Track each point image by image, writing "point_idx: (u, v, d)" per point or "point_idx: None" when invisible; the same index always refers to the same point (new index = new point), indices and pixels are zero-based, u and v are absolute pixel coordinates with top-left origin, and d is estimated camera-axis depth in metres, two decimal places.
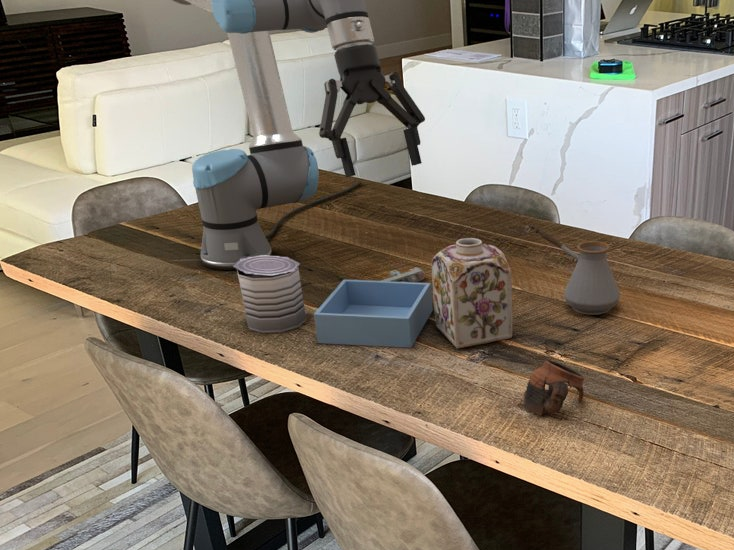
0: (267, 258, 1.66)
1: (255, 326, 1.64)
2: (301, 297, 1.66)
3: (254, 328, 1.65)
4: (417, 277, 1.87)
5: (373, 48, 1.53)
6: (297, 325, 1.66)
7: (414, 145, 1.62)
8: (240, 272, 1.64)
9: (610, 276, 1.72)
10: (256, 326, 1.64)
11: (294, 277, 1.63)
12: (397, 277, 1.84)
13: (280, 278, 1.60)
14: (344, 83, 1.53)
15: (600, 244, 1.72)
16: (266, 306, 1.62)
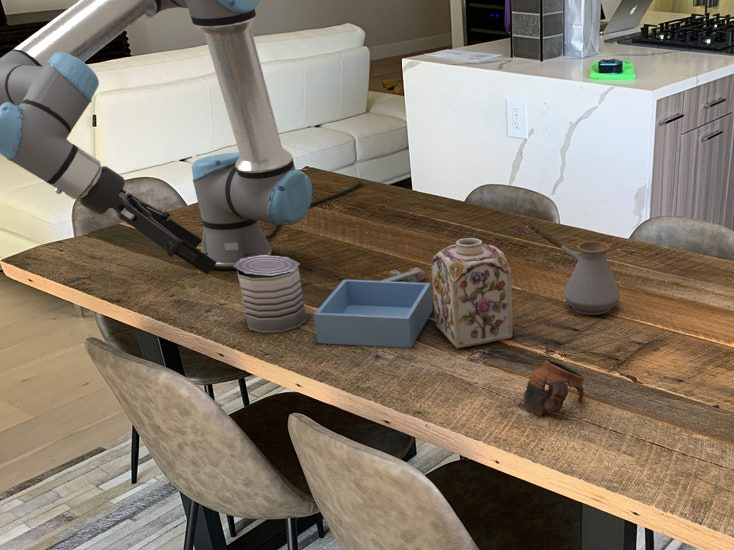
0: (267, 258, 1.66)
1: (255, 326, 1.64)
2: (301, 297, 1.66)
3: (254, 328, 1.65)
4: (417, 277, 1.87)
5: (85, 204, 1.42)
6: (297, 325, 1.66)
7: None
8: (240, 272, 1.64)
9: (610, 276, 1.72)
10: (256, 326, 1.64)
11: (294, 277, 1.63)
12: (397, 277, 1.84)
13: (280, 278, 1.60)
14: None
15: (600, 244, 1.72)
16: (266, 306, 1.62)
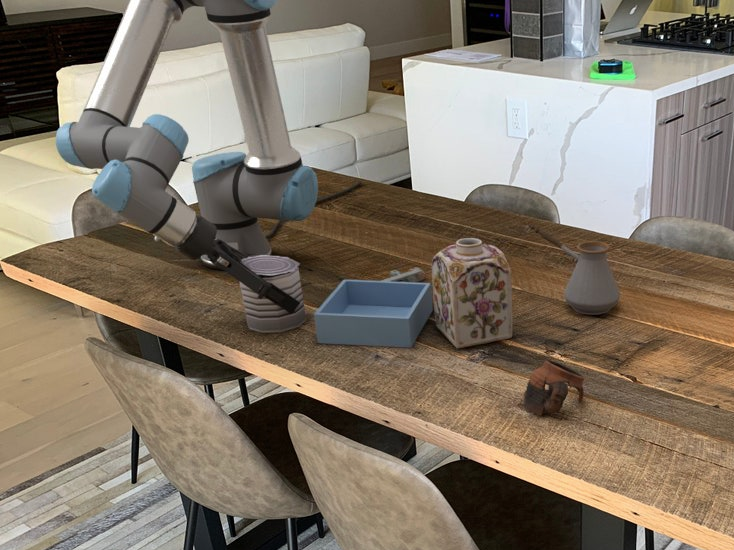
0: (267, 258, 1.66)
1: (255, 326, 1.64)
2: (301, 297, 1.66)
3: (254, 328, 1.65)
4: (417, 277, 1.87)
5: (181, 251, 1.52)
6: (297, 325, 1.66)
7: None
8: None
9: (610, 276, 1.72)
10: (256, 326, 1.64)
11: (294, 277, 1.63)
12: (397, 277, 1.84)
13: (280, 278, 1.60)
14: None
15: (600, 244, 1.72)
16: (266, 306, 1.62)
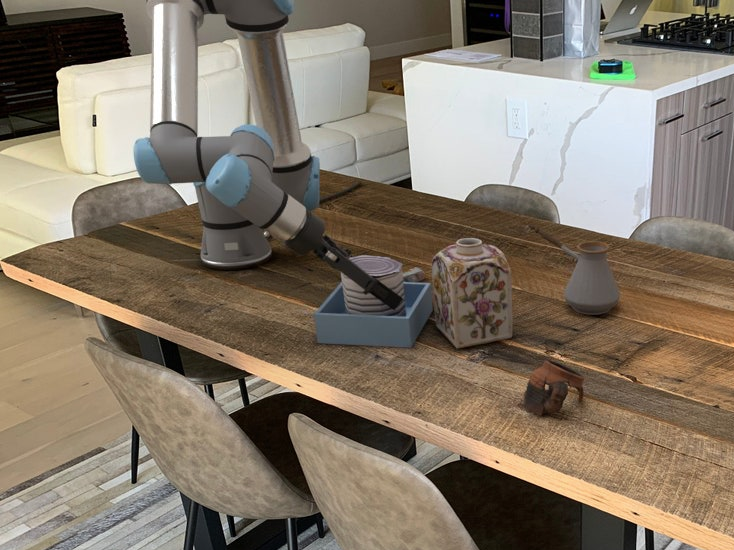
0: (369, 258, 1.65)
1: None
2: (403, 298, 1.65)
3: None
4: (417, 277, 1.87)
5: (290, 246, 1.50)
6: None
7: None
8: None
9: (610, 276, 1.72)
10: None
11: (398, 277, 1.61)
12: None
13: (386, 278, 1.58)
14: None
15: (600, 244, 1.72)
16: (371, 307, 1.60)
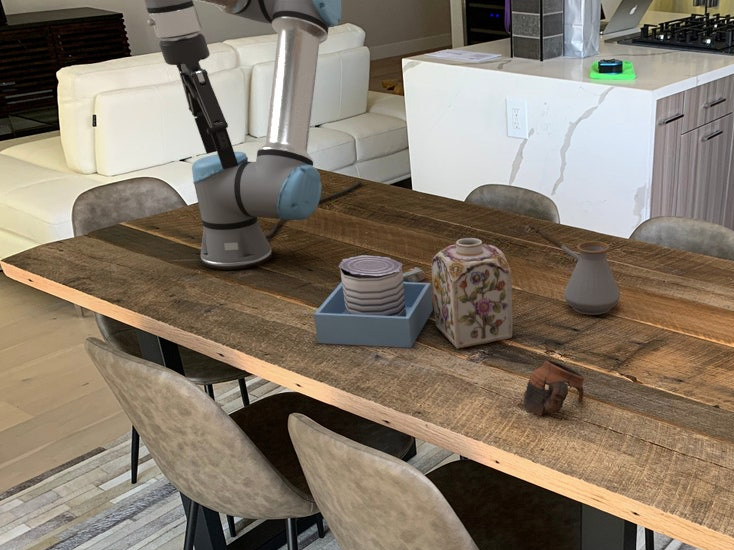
0: (369, 258, 1.65)
1: None
2: (403, 298, 1.65)
3: None
4: (417, 277, 1.87)
5: (166, 47, 1.47)
6: None
7: None
8: (343, 272, 1.62)
9: (610, 276, 1.72)
10: None
11: (398, 277, 1.61)
12: None
13: (386, 278, 1.58)
14: (182, 69, 1.55)
15: (600, 244, 1.72)
16: (371, 307, 1.60)
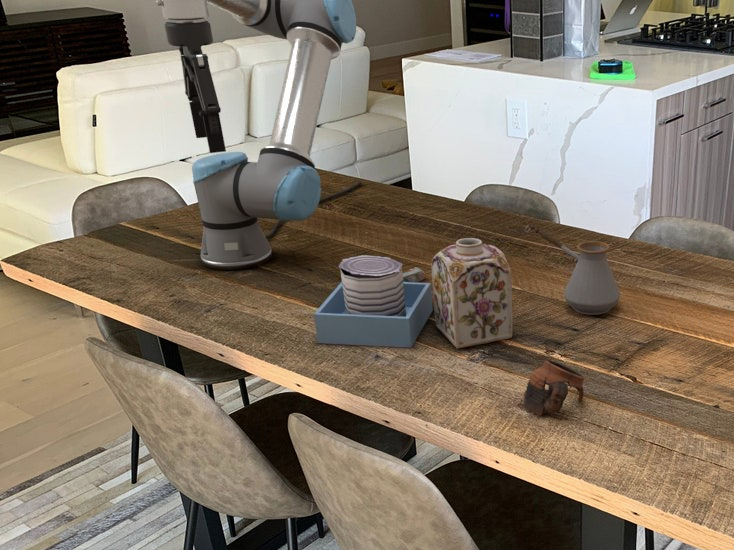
0: (369, 258, 1.65)
1: None
2: (403, 298, 1.65)
3: None
4: (417, 277, 1.87)
5: (170, 28, 1.50)
6: None
7: None
8: (343, 272, 1.62)
9: (610, 276, 1.72)
10: None
11: (398, 277, 1.61)
12: None
13: (386, 278, 1.58)
14: (184, 53, 1.58)
15: (600, 244, 1.72)
16: (371, 307, 1.60)
